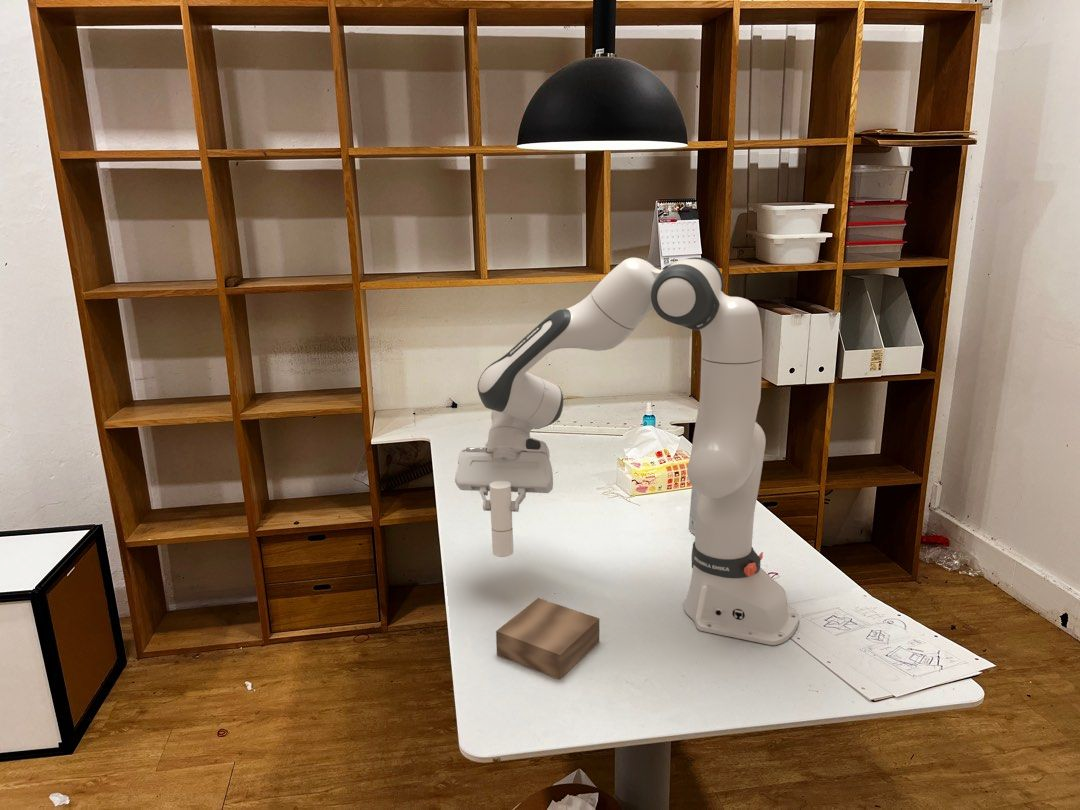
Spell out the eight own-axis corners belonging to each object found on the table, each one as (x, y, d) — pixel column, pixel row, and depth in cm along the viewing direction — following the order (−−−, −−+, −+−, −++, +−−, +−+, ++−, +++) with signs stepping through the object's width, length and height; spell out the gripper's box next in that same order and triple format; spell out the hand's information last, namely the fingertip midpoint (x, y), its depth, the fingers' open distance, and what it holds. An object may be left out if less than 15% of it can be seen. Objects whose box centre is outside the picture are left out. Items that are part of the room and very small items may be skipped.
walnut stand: (599, 641, 154) (599, 618, 152) (560, 679, 142) (559, 655, 141) (538, 619, 161) (538, 597, 160) (496, 654, 150) (496, 631, 148)
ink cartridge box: (727, 544, 192) (730, 487, 188) (706, 547, 190) (709, 490, 186) (708, 526, 201) (711, 472, 197) (687, 529, 200) (690, 475, 195)
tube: (503, 559, 163) (500, 490, 159) (488, 553, 166) (485, 485, 162) (517, 551, 166) (515, 483, 162) (502, 545, 169) (499, 479, 165)
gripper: (456, 440, 168) (447, 502, 162) (553, 443, 165) (547, 506, 158) (463, 453, 173) (454, 513, 167) (556, 456, 170) (551, 517, 164)
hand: (500, 510), depth 163 cm, fingers closed on tube, 4 cm apart
